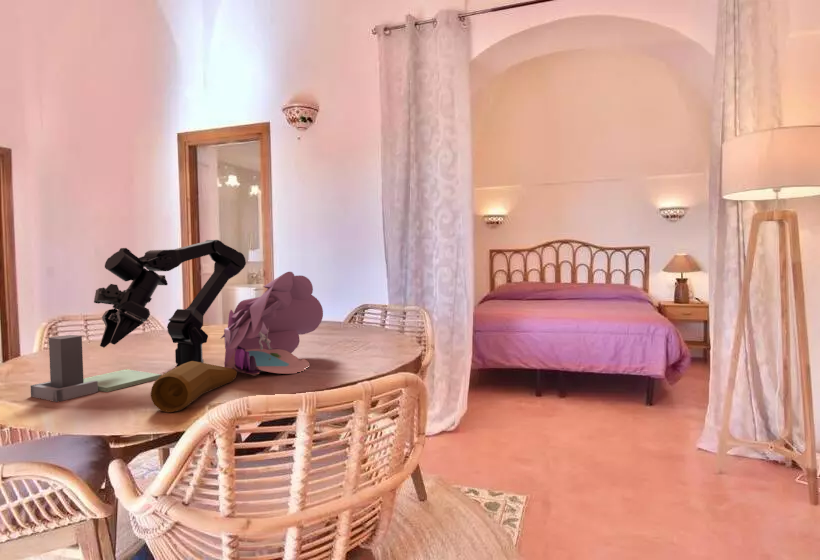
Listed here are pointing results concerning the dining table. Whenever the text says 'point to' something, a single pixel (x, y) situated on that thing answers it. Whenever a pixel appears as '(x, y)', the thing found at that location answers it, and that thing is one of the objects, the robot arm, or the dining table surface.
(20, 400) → the dining table surface
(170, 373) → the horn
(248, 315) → the flower arrangement
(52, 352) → the chute block
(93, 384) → the two-tone flat tray
